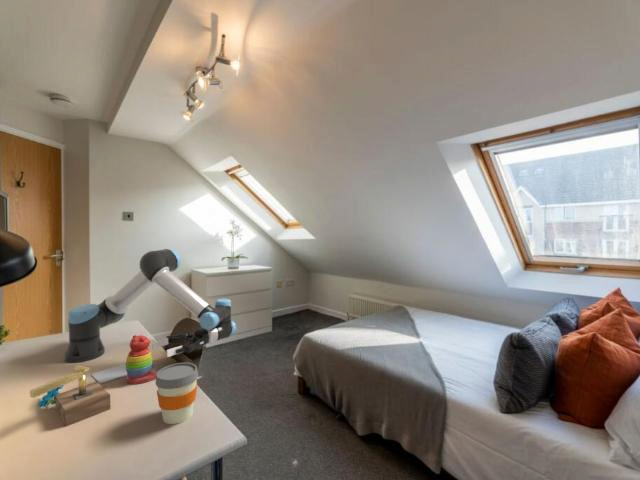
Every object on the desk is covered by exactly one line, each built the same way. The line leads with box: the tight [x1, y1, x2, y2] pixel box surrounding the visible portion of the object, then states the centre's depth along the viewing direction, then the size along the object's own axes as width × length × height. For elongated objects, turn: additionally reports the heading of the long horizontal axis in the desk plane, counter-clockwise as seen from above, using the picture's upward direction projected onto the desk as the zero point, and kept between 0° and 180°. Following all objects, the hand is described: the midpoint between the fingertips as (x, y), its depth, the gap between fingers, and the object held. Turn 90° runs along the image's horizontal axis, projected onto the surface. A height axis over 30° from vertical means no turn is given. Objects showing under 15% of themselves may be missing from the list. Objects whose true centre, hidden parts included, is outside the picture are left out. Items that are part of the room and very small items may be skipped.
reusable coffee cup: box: [155, 362, 199, 425], centre depth 102 cm, size 13×12×15 cm
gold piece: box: [29, 364, 90, 399], centre depth 99 cm, size 15×5×9 cm, turn 160°
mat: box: [90, 363, 128, 385], centre depth 131 cm, size 12×12×1 cm
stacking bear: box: [125, 334, 157, 385], centre depth 126 cm, size 11×10×18 cm
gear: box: [38, 385, 65, 408], centre depth 110 cm, size 11×6×10 cm
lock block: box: [54, 381, 112, 427], centre depth 105 cm, size 14×12×5 cm
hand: (159, 349), depth 132 cm, fingers open, 13 cm apart
